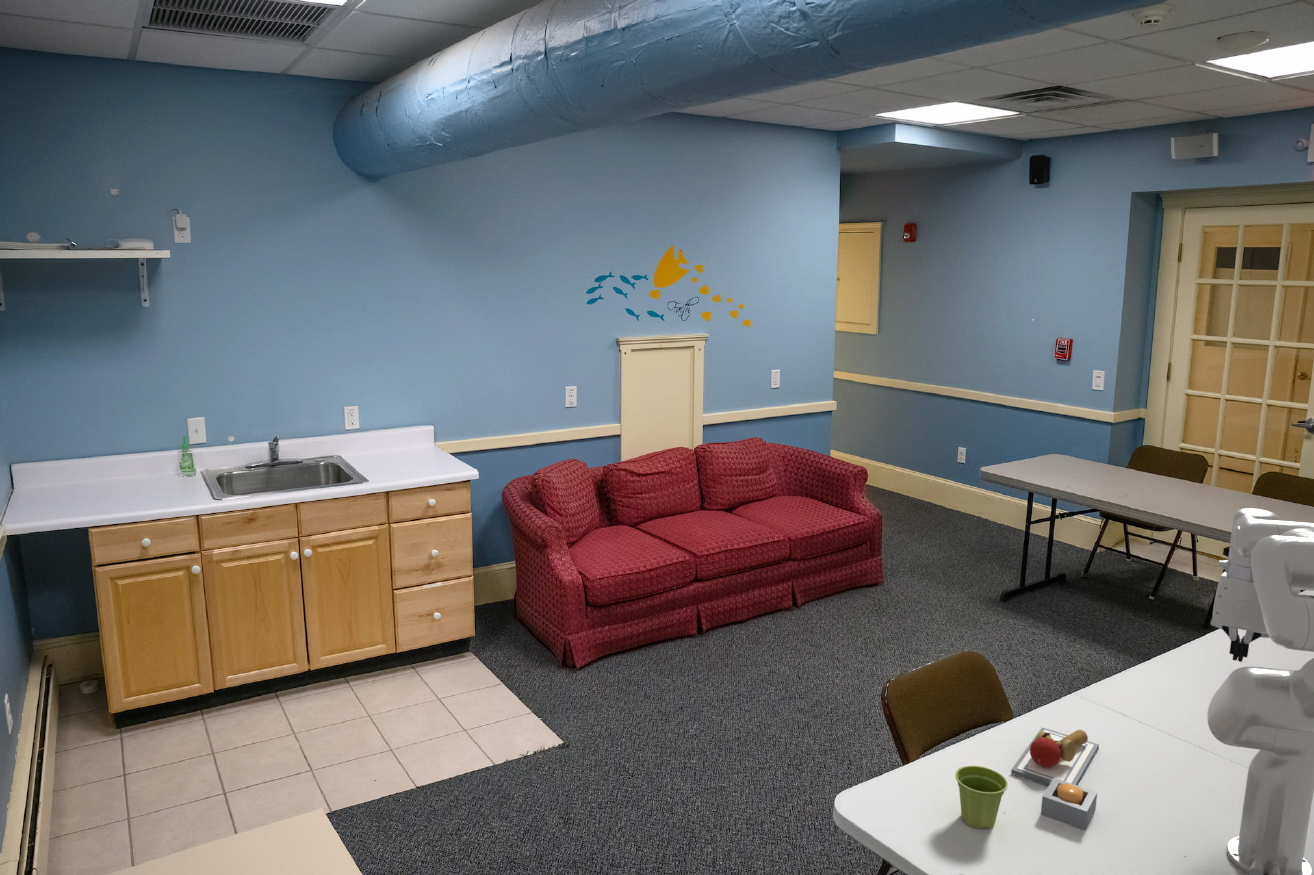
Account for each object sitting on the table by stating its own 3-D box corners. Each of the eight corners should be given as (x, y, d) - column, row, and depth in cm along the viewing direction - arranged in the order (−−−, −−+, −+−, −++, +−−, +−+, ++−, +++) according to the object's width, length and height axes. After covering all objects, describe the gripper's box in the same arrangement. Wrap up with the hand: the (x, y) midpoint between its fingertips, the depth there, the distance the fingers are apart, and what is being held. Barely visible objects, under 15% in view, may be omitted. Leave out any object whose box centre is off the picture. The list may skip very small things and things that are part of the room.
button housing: (1085, 830, 169) (1087, 811, 169) (1040, 814, 174) (1042, 796, 174) (1095, 810, 176) (1097, 792, 175) (1052, 795, 180) (1054, 777, 180)
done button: (1078, 813, 172) (1079, 799, 171) (1053, 805, 174) (1055, 791, 174) (1084, 803, 175) (1085, 789, 174) (1060, 794, 178) (1061, 781, 177)
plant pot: (963, 799, 179) (966, 759, 178) (1011, 817, 173) (1014, 776, 172) (944, 821, 172) (947, 780, 171) (994, 841, 166) (997, 799, 165)
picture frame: (1072, 794, 181) (1072, 789, 181) (1011, 773, 188) (1011, 768, 188) (1098, 748, 198) (1099, 743, 198) (1041, 731, 205) (1042, 726, 205)
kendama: (1059, 739, 202) (1016, 756, 191) (1068, 715, 200) (1025, 730, 189) (1091, 760, 196) (1049, 778, 185) (1101, 735, 194) (1059, 752, 183)
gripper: (1202, 568, 178) (1192, 655, 182) (1294, 585, 169) (1281, 676, 173) (1208, 559, 184) (1197, 643, 188) (1297, 574, 175) (1284, 662, 179)
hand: (1237, 658), depth 180 cm, fingers closed
